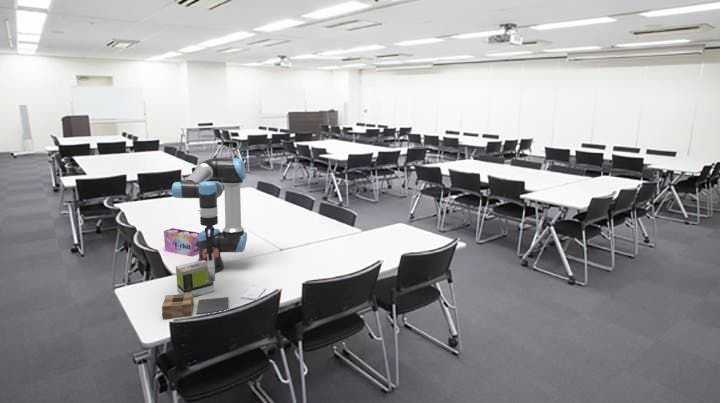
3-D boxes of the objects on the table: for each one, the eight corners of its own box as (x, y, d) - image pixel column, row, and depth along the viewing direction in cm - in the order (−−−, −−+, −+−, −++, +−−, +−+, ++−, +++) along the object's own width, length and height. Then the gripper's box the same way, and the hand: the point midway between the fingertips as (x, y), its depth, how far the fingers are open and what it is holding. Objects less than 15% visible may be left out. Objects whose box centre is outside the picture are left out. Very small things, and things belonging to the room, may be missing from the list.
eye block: (166, 307, 200) (165, 295, 199) (193, 304, 203) (193, 292, 202) (162, 319, 189) (161, 306, 187) (191, 316, 192) (190, 304, 191)
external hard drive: (265, 291, 222) (256, 301, 210) (251, 289, 223) (240, 299, 211) (265, 288, 222) (256, 298, 210) (251, 286, 223) (240, 296, 211)
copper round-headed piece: (219, 277, 204) (218, 247, 200) (219, 282, 197) (218, 252, 194) (204, 278, 202) (202, 248, 198) (203, 284, 195) (202, 253, 192)
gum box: (202, 253, 272) (201, 233, 269) (193, 257, 265) (192, 236, 262) (174, 247, 281) (172, 227, 278) (164, 251, 274) (163, 231, 270)
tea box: (206, 285, 225) (205, 259, 222) (214, 291, 218) (212, 264, 214) (177, 292, 215) (175, 265, 212) (184, 299, 208) (182, 271, 205)
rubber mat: (198, 301, 207) (198, 299, 207) (228, 298, 211) (228, 296, 211) (196, 314, 194) (196, 313, 194) (228, 311, 198) (228, 309, 198)
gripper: (201, 210, 201) (203, 256, 206) (198, 222, 182) (201, 272, 187) (218, 210, 203) (219, 255, 208) (217, 221, 184) (219, 270, 189)
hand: (211, 263), depth 197 cm, fingers closed on copper round-headed piece, 7 cm apart
